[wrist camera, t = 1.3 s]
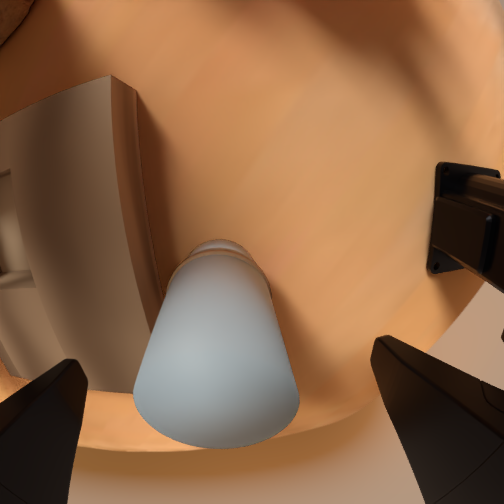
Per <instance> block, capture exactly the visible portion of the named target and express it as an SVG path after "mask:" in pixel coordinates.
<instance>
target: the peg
mask: <svg viewBox="0 0 504 504" xmlns="http://www.w3.org/2000/svg"><path fill="white" fill-rule="evenodd" d="M133 398H134V402H135V405H136V408H137V410H138V412H139V413H140V415H141V416H142V417H143V419H144V420H145V421H146V422H147V423H148V424H149V425H150V426H152V427H153V428H154V429H156V430H157V431H158V432H160V433H162V434H163V435H165V436H167V437H169V438H171V439H173V440H176V441H178V442H181V443H184V444H188V445H192V446H196V447H202V448H212V449H229V448H238V447H245V446H249V445H253V444H256V443H259V442H262V441H264V440H266V439H269V438H271V437H272V436H274V435H276V434H278V433H279V432H280V431H282V430H283V429H284V428H285V427H287V426H288V425H289V423H290V422H291V421H292V420H293V418H294V417H295V415H296V413H297V411H298V408H299V393H298V389H297V386H296V382H295V379H294V375H293V372H292V368H291V365H290V361H289V358H288V355H287V351H286V348H285V344H284V341H283V337H282V334H281V330H280V327H279V324H278V320H277V317H276V313H275V310H274V306H273V303H272V294H271V289H270V285H269V282H268V280H267V278H266V276H265V274H264V273H263V271H262V270H261V269H260V267H259V266H258V265H257V264H256V263H255V262H254V261H253V259H252V257H251V256H250V254H249V253H248V252H247V250H245V249H244V248H243V247H242V246H240V245H239V244H237V243H235V242H232V241H229V240H222V239H216V240H210V241H207V242H204V243H202V244H200V245H199V246H197V247H196V248H195V249H194V250H193V251H192V252H191V253H190V255H189V257H188V258H186V259H185V260H184V261H183V262H182V263H181V264H180V265H179V266H178V267H177V268H176V269H175V271H174V272H173V274H172V276H171V278H170V280H169V283H168V286H167V290H166V296H165V299H164V301H163V304H162V307H161V309H160V312H159V315H158V317H157V320H156V323H155V326H154V328H153V331H152V334H151V337H150V340H149V343H148V346H147V348H146V351H145V354H144V357H143V360H142V363H141V366H140V369H139V372H138V375H137V379H136V382H135V385H134V390H133Z"/></svg>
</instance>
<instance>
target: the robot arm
mask: <svg viewBox="0 0 504 504" xmlns="http://www.w3.org/2000/svg"><path fill="white" fill-rule="evenodd" d="M444 168H445V173H444V172H443V170H444ZM435 263H436V264H435ZM434 264H435V266H434ZM463 268H466V269H468V270H470V271H471V272H473V273H474V274H476V275H477V276H479V277H480V278H482V279H483V280H485V281H486V282H488V283H489V284H491V285H492V286H494V287H495V288H497V289H498V290H499V291H501V292H502V293H504V180H503V179H501V176H500V172H499V171H498V170H494V169H489V168H483V167H477V166H471V165H464V164H457V163H450V162H439V163H438V164H437V166H436V182H435V201H434V214H433V224H432V233H431V241H430V248H429V255H428V261H427V269H428V270H429V271H430V272H431V273H433V274H438V273H443V272H448V271H453V270H458V269H463ZM501 338H502V340H503V342H504V330H503V333H502V336H501ZM370 362H371V366H372V369H373V372H374V375H375V378H376V381H377V384H378V387H379V390H380V393H381V396H382V399H383V402H384V405H385V407H386V410H387V412H388V414H389V416H390V419H391V421H392V423H393V425H394V427H395V430H396V432H397V434H398V437H399V439H400V441H401V444H402V446H403V448H404V450H405V453H406V455H407V458H408V460H409V463H410V465H411V468H412V470H413V473H414V475H415V478H416V480H417V483H418V485H419V488H420V490H421V493H422V496H423V498H424V501H425V504H504V390H501V389H499V388H497V387H495V386H492V385H490V384H488V383H486V382H484V381H480V379H478V378H476V377H473V376H471V375H469V374H467V373H465V372H463V371H461V370H459V369H457V368H455V367H453V366H451V365H449V364H447V363H445V362H442V361H441V360H439V359H437V358H435V357H432V356H430V355H428V354H426V353H424V352H422V351H420V350H418V349H416V348H414V347H412V346H410V345H408V344H406V343H404V342H402V341H400V340H398V339H396V338H394V337H392V336H390V335H384V336H380V337H377V338H376V339H375V341H374V345H373V350H372V354H371V358H370ZM87 389H88V378H87V376H86V374H85V372H84V371H83V369H82V367H81V365H80V363H79V361H78V360H76V359H70V358H66V359H64V360H62V361H61V362H59V363H58V364H56V365H55V366H54V367H52V368H51V369H49V370H48V371H46V372H45V373H43V374H42V375H40V376H39V377H37V378H36V379H34V380H33V381H31V382H30V383H29V384H27V385H26V386H24V387H23V388H21V389H20V390H18V391H17V392H15V393H14V394H13V395H11V396H10V397H8V398H7V399H5V400H4V401H3V402H1V403H0V504H67V501H68V494H69V487H70V480H71V474H72V468H73V462H74V458H75V453H76V448H77V444H78V439H79V435H80V430H81V426H82V420H83V414H84V407H85V401H86V395H87Z"/></svg>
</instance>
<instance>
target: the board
mask: <svg viewBox="0 0 504 504" xmlns="http://www.w3.org/2000/svg"><path fill="white" fill-rule="evenodd" d="M163 301H164V298H163V293H162V289H161V284H160V280H159V275H158V270H157V265H156V260H155V255H154V250H153V244H152V238H151V233H150V227H149V220H148V214H147V207H146V200H145V193H144V185H143V177H142V168H141V158H140V147H139V135H138V120H137V100H136V90H135V89H133V88H132V87H130V86H129V85H127V84H125V83H124V82H122V81H120V80H119V79H117V78H115V77H114V76H112V75H108V76H105V77H101V78H98V79H95V80H92V81H89V82H86V83H83V84H80V85H77V86H75V87H72V88H69V89H67V90H64V91H62V92H59V93H57V94H54V95H52V96H49V97H47V98H45V99H43V100H40V101H38V102H36V103H34V104H32V105H30V106H28V107H26V108H24V109H22V110H20V111H18V112H16V113H14V114H12V115H10V116H8V117H6V118H5V119H3V120H1V121H0V358H1V360H2V362H3V363H4V365H5V367H6V368H7V370H8V372H9V373H10V375H12V376H16V377H20V378H24V379H29V380H34V379H36V378H37V377H39V376H40V375H42V374H43V373H45V372H46V371H48V370H49V369H51V368H52V367H54V366H55V365H56V364H58V363H59V362H61V361H62V360H64V359H66V358H70V359H76V360H78V361H79V363H80V365H81V367H82V369H83V371H84V372H85V374H86V376H87V378H88V389H87V390H96V391H106V392H118V393H133V390H134V385H135V382H136V379H137V375H138V372H139V369H140V366H141V363H142V360H143V357H144V354H145V351H146V348H147V346H148V343H149V340H150V337H151V334H152V331H153V328H154V326H155V323H156V320H157V317H158V315H159V312H160V309H161V307H162V304H163Z"/></svg>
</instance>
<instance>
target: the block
mask: <svg viewBox="0 0 504 504" xmlns="http://www.w3.org/2000/svg"><path fill="white" fill-rule="evenodd" d="M33 1H34V0H0V46H1V45H2V44H3V42H4V41H5V40H6V39H7V38H8V37H9V35H10V34H11V33H12V32H13V31H14V30H15V29H16V28H17V27H18V26H19V24H20V23H21V22H22V20H23V19H24V17H25V16H26V15H27V14H28V11H29V7H30V6H31V5H32V3H33Z"/></svg>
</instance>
